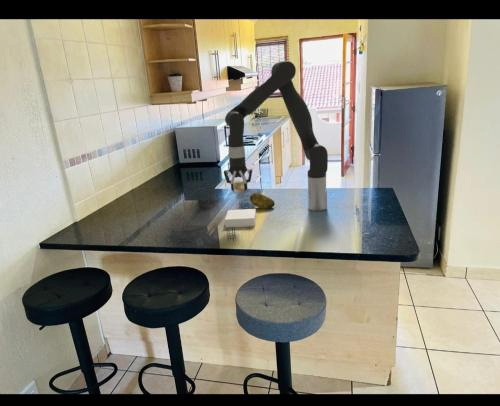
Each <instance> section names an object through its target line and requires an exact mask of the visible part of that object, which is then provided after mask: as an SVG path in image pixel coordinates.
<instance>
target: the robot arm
mask: <svg viewBox="0 0 500 406" xmlns="http://www.w3.org/2000/svg"><path fill="white" fill-rule="evenodd" d="M296 70H297V69H296V65H295V64H294V63H293V62H292V61H290V60H283V61H277V62H275V63H274V64H273V66H272V67H271V71H270V72H271V73H270V74H271V76H269V78H268V79H267V80H265V81H264V82H263V83H262V84H260V85H259V86H258V87H256V88H255V89H254V90H253V91H251V92H250V93H249V94H248V95H247V96H246V97H245V98H244V99H243V100H241V102H240V103H239V104H237V105H235V106H234V107H233V108H232V109H230V110H229V111H228V112H227V113H226V116H225V118H224V122H225V124H226V125H227V126H228V127H229V134H228V135H227V141H228V163H229V167H228V168H229V169H225V170H223V175H224V178H225V181H226V183H227V184H230V189H231V191H232V192H233V193H234V188H233V182H234V180H235V178H241V180H243V181H244V190H245V192H246V191H247V190H248V183H250V182H251V180H252V173H253V168H247V165H246V152H245V144H244V143H245V142H244V132H245V120H244V119H245V118H246V117H248V116H250V115H252V114H253V113H254V112H256V110H257V109H258V108H259V107H261V106H262V104H263V103H264V102H265V101H267V100H268V99H269V98H270V97H271V96H272V95H273V94H274V93H275V92H276V91H279V93H280V95H281V98H282V100H283V102H284V104H285V108H286V110H287V113H288V115H289V117H290V120H291V122H292V124H293V126H294V128H295V131H296V133H297V135H298V137H299V139H300V143H301V145H302V149H303V153H304V156H305V157H306V159H307V160H308V161H309V169H308V170H307V198H308V205H307V206H308V207H307V208H308V210H310V211H313V212H321V211H324V210H328V191H327V172H328V164H329V162H328V161H329V159H328V157H329V154H328V150H327V148H326V147H325V146H323V145H321V144H319V142H318V139H317V138H316V136H315V135H316V134H314V128H313V121H312V115H311V112H310V109H309V108H308V105H307V103H306V102H305V100H304V99H303V98H302V96H301V95H300V94H299V92H298V91H297V89H296V87H295V86H294V83H293V79H295V78H294V77H295V75H296V72H297V71H296ZM246 172H247V174H248V178H247V177H246V175H245V174H246ZM229 173H230V175H232V176H231V179H230V177H229Z"/></svg>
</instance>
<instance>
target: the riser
mask: <svg viewBox="0 0 500 406" xmlns="http://www.w3.org/2000/svg"><path fill="white" fill-rule="evenodd" d="M256 220H257V209H256V208H248V209H228V210H227V213H226V216H225V218H224V224H225V228H238V227H239V228H240V227H242V228H244V227H256Z"/></svg>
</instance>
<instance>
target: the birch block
mask: <svg viewBox="0 0 500 406" xmlns="http://www.w3.org/2000/svg"><path fill="white" fill-rule="evenodd" d="M233 188H234V192H233V193H234V194H245V193H246V191H245V190H244V181H243V179H237V180H235V179H234V182H233Z"/></svg>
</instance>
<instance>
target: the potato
mask: <svg viewBox="0 0 500 406" xmlns="http://www.w3.org/2000/svg"><path fill="white" fill-rule="evenodd" d="M249 200H250V203H251V204H252V205H253V206H255V207H257V208H259V209H261V210H268V209H272V208H273V207H274V206H275V205H276V204H275V201H274V200H273V199H272V198H271V197H269V196H266V195H264V194H262V193H260V192H253V193H252V194H251V195H250V196H249Z"/></svg>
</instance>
